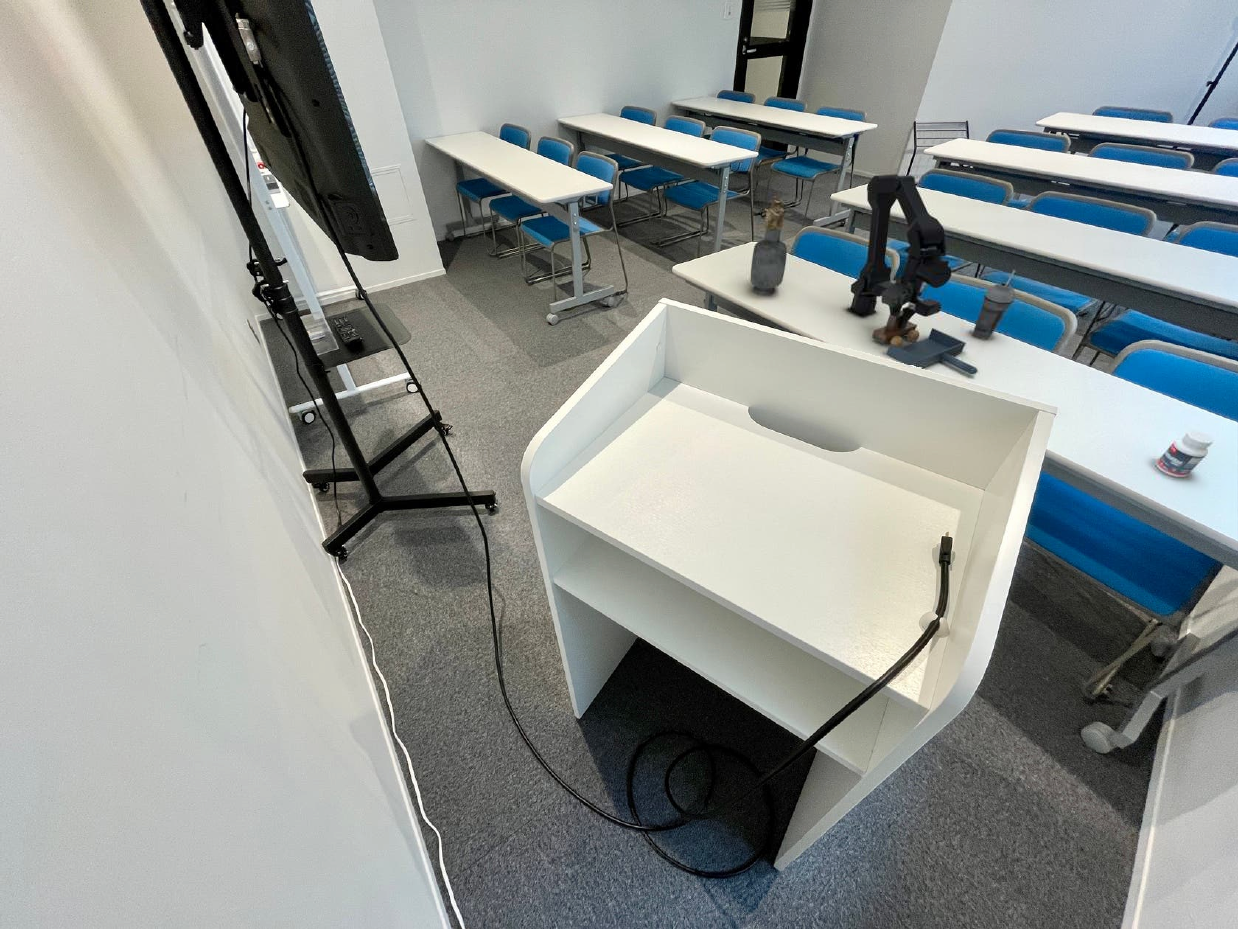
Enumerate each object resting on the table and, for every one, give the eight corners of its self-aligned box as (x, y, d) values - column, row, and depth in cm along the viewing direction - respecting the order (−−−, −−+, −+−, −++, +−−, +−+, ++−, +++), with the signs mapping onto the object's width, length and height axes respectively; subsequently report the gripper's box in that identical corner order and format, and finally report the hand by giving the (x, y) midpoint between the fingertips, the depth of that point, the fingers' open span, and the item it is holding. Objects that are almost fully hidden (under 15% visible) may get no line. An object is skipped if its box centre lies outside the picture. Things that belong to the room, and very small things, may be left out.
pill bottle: (1148, 462, 113) (1176, 429, 107) (1172, 460, 113) (1200, 427, 107) (1170, 478, 109) (1200, 445, 103) (1194, 476, 109) (1225, 443, 103)
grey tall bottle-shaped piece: (748, 298, 181) (760, 204, 161) (748, 277, 195) (760, 188, 175) (780, 300, 179) (797, 205, 159) (778, 278, 193) (794, 188, 173)
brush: (871, 338, 156) (878, 315, 151) (902, 327, 160) (909, 305, 156) (883, 344, 153) (891, 321, 148) (914, 332, 157) (922, 310, 153)
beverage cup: (989, 329, 159) (1020, 263, 146) (999, 341, 153) (1033, 273, 140) (963, 329, 160) (992, 263, 146) (973, 341, 154) (1004, 273, 141)
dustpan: (886, 354, 150) (890, 343, 148) (929, 337, 156) (933, 327, 154) (951, 387, 137) (956, 377, 134) (995, 368, 143) (1000, 358, 141)
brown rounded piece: (902, 335, 156) (910, 329, 153) (910, 333, 157) (917, 326, 154) (909, 344, 155) (916, 337, 152) (916, 341, 156) (924, 334, 153)
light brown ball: (886, 341, 154) (893, 335, 151) (893, 339, 155) (901, 332, 152) (892, 350, 153) (899, 344, 150) (900, 347, 154) (907, 341, 151)
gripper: (865, 268, 148) (851, 320, 158) (923, 291, 135) (903, 346, 146) (893, 260, 152) (878, 311, 162) (952, 282, 139) (931, 336, 149)
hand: (896, 326), depth 155 cm, fingers closed on brush, 2 cm apart
